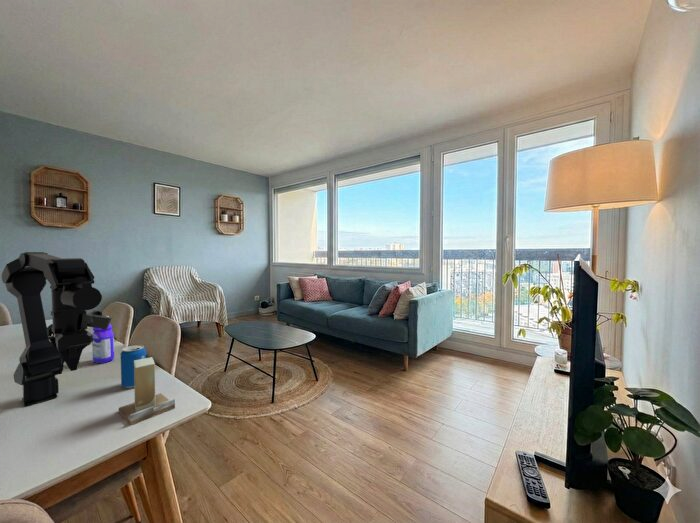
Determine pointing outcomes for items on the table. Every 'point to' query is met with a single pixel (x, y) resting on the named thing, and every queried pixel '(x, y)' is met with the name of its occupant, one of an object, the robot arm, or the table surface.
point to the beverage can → (130, 363)
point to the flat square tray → (135, 417)
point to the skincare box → (144, 383)
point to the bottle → (103, 345)
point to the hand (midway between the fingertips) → (70, 365)
